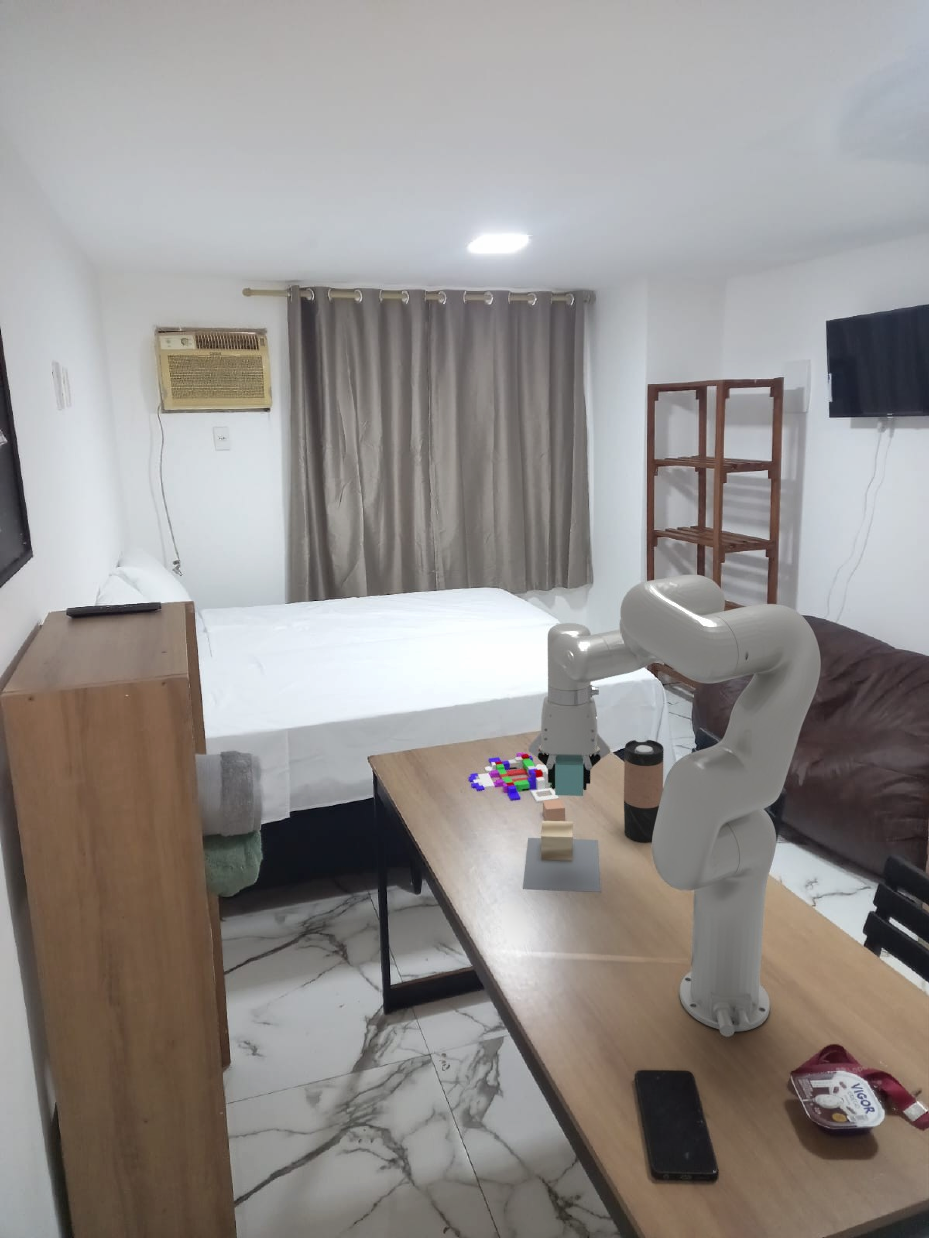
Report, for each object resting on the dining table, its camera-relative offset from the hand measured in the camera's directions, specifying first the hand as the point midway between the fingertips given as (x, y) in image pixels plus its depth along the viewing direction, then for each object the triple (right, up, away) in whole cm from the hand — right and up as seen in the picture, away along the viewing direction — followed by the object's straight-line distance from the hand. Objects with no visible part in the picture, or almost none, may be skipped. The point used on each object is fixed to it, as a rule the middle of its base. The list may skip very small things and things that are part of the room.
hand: (569, 785), depth 148 cm
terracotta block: (0, -10, +25) cm, 27 cm away
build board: (0, -17, +6) cm, 18 cm away
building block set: (-7, -9, +44) cm, 45 cm away
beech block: (-1, -15, +10) cm, 18 cm away
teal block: (0, -1, 0) cm, 1 cm away
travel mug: (+17, -14, +16) cm, 27 cm away
